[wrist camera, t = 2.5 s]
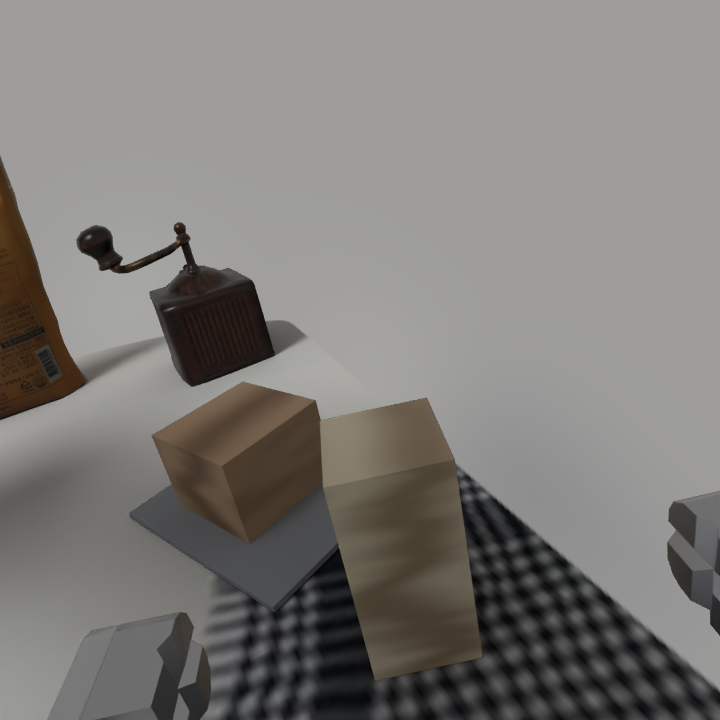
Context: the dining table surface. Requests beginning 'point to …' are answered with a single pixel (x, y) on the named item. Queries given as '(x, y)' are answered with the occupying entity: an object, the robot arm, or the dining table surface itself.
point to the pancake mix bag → (27, 321)
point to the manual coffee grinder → (196, 310)
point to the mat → (250, 545)
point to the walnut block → (244, 457)
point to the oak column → (401, 536)
